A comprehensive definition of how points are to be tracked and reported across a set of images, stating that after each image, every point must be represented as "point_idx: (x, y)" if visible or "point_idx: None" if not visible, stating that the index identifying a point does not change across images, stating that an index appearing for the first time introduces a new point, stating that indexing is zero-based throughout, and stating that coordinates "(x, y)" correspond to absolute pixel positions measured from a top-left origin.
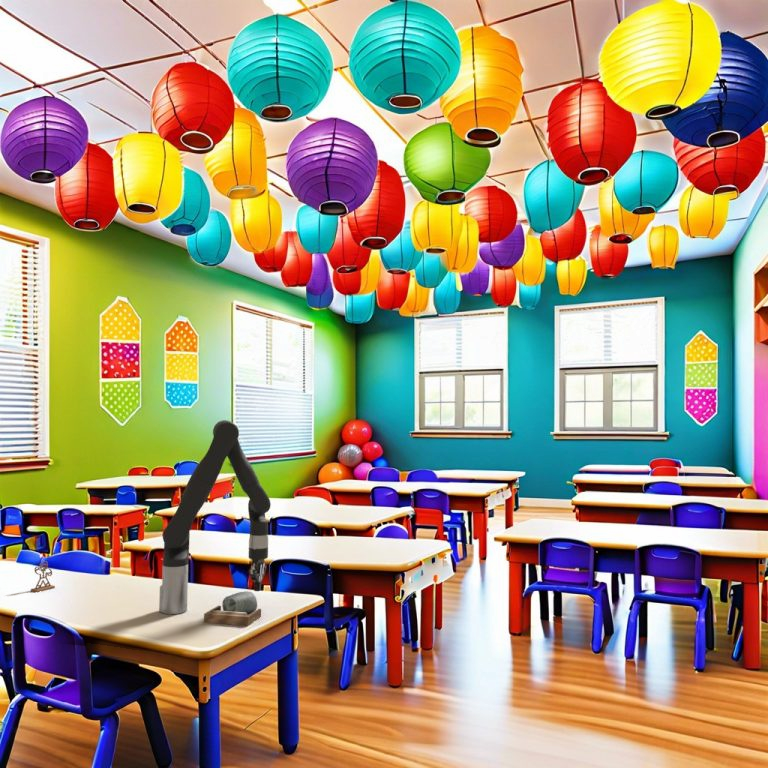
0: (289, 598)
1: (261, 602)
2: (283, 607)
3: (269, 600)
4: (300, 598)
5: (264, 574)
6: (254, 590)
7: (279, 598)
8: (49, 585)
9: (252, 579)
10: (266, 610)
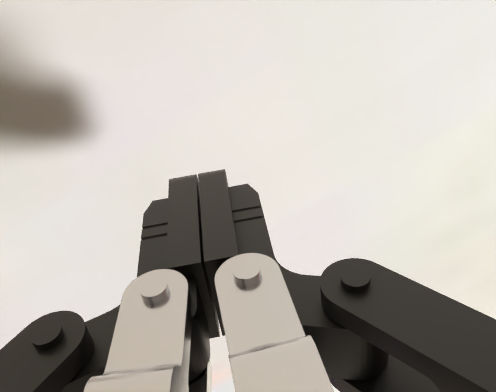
0: (474, 251)
1: (279, 121)
2: (211, 338)
3: (374, 147)
4: (485, 309)
5: (423, 382)
6: (170, 181)
7: (462, 186)
8: None
9: (20, 363)
10: (67, 293)
